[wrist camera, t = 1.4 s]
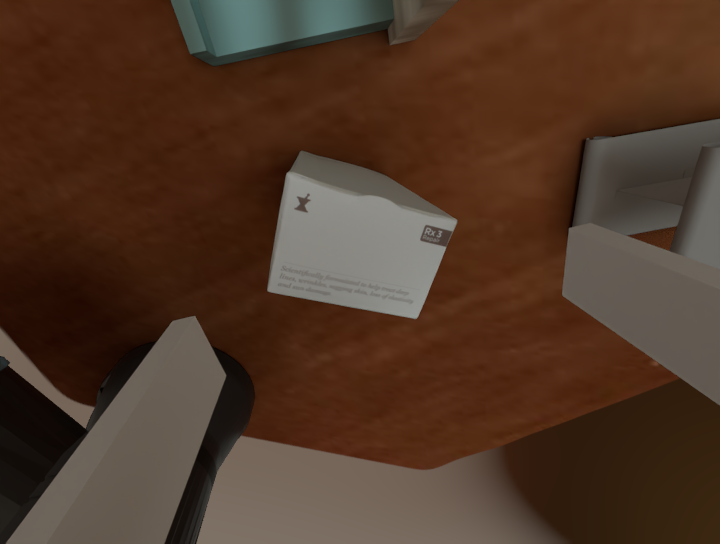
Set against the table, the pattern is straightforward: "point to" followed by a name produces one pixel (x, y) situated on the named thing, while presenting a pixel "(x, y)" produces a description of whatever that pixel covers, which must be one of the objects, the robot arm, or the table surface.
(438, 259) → the skincare box
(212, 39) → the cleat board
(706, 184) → the folded metal stand
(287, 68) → the table surface
